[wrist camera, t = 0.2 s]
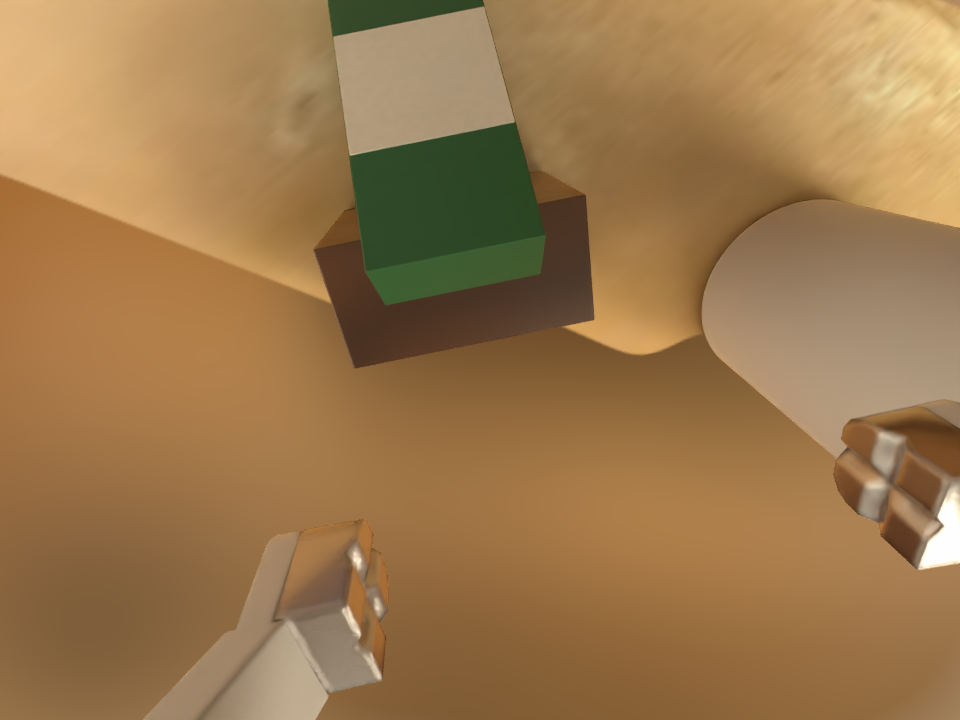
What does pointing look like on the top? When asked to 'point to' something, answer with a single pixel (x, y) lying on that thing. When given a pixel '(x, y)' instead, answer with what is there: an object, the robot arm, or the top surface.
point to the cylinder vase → (839, 313)
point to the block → (465, 312)
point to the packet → (433, 148)
